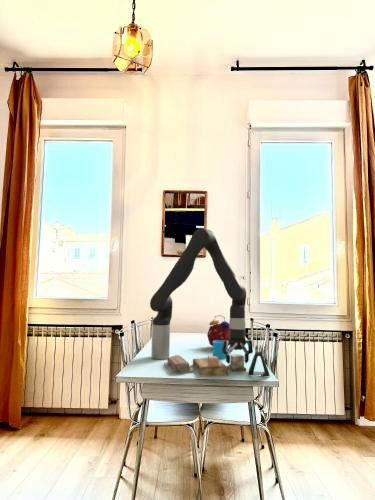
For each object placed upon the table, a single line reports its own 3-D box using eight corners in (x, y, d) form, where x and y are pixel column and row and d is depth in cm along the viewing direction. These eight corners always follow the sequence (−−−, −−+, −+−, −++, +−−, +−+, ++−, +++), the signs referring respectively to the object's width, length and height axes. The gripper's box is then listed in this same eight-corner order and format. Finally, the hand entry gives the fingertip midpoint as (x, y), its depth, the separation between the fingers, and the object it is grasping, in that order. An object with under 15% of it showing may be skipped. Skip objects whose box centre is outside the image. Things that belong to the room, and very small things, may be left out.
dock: (201, 376, 144) (201, 367, 144) (192, 365, 162) (192, 357, 163) (228, 375, 146) (228, 366, 146) (216, 364, 164) (216, 356, 165)
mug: (226, 359, 175) (226, 343, 176) (211, 358, 178) (211, 342, 178) (230, 354, 187) (230, 339, 188) (215, 353, 189) (215, 338, 190)
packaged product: (194, 362, 149) (172, 363, 146) (193, 373, 149) (172, 375, 146) (183, 353, 166) (164, 354, 164) (183, 363, 166) (163, 365, 163)
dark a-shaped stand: (268, 373, 150) (268, 345, 151) (269, 376, 144) (269, 348, 146) (248, 371, 152) (248, 344, 153) (248, 375, 146) (248, 347, 147)
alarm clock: (232, 349, 201) (232, 315, 202) (223, 351, 194) (223, 316, 196) (213, 345, 211) (213, 313, 213) (204, 347, 204) (204, 314, 206)
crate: (209, 367, 146) (209, 358, 146) (207, 365, 150) (207, 356, 150) (218, 367, 147) (218, 358, 147) (216, 365, 151) (216, 356, 151)
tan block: (233, 372, 151) (233, 357, 152) (228, 367, 159) (228, 353, 160) (246, 371, 152) (246, 357, 153) (240, 367, 160) (240, 353, 161)
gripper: (225, 328, 153) (224, 365, 151) (254, 328, 155) (254, 364, 154) (220, 326, 160) (220, 361, 158) (248, 326, 162) (249, 360, 161)
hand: (237, 362), depth 156 cm, fingers open, 8 cm apart
